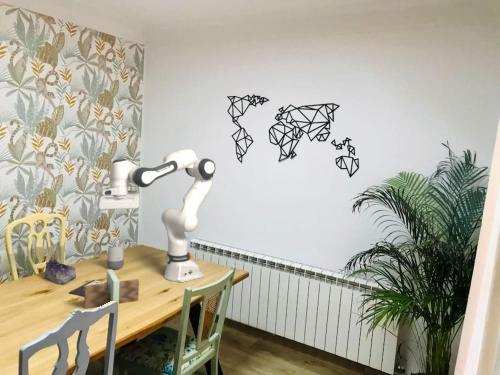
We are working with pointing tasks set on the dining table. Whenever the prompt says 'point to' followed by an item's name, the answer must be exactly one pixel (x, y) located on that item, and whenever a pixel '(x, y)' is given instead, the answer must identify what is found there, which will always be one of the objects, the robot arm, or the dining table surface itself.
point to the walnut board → (100, 295)
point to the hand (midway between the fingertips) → (118, 217)
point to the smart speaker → (115, 258)
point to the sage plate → (113, 285)
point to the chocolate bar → (81, 289)
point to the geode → (59, 272)
